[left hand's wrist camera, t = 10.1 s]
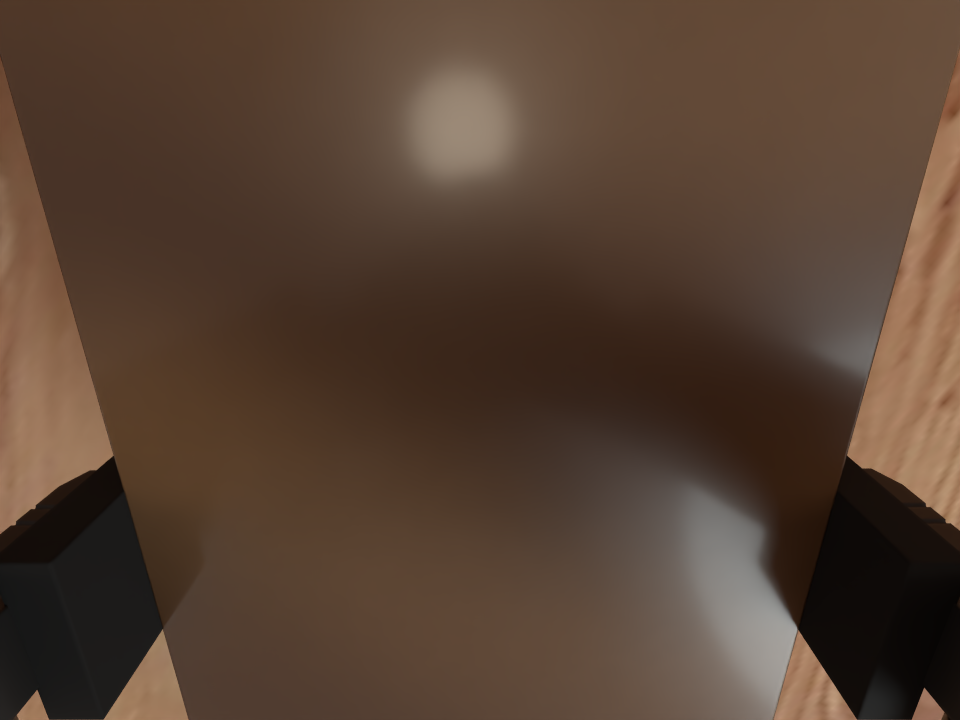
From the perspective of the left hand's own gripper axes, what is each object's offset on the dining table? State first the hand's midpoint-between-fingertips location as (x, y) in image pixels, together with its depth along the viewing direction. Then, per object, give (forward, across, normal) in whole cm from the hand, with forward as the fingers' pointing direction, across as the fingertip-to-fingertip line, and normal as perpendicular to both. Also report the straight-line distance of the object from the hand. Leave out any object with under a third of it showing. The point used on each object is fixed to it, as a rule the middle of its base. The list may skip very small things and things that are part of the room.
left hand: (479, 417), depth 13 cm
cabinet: (+3, 0, +5) cm, 5 cm away
